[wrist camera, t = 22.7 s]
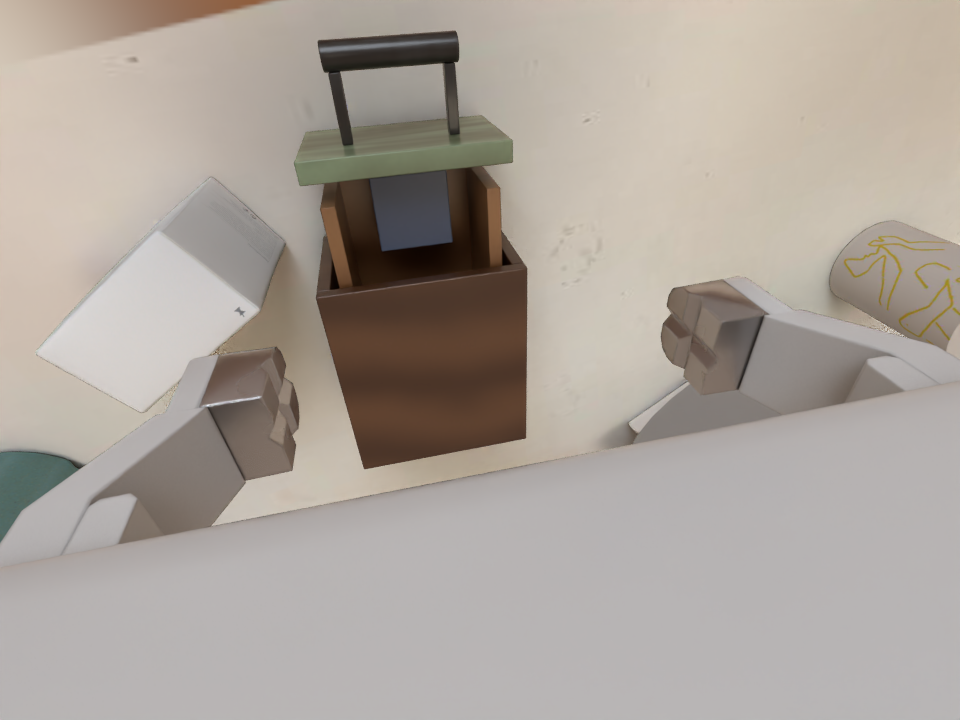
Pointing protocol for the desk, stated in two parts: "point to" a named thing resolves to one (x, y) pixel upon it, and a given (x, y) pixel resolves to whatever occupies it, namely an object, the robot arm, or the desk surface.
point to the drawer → (403, 167)
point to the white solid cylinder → (904, 282)
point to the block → (412, 210)
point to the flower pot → (27, 482)
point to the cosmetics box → (169, 299)
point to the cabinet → (430, 358)
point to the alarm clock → (696, 413)
